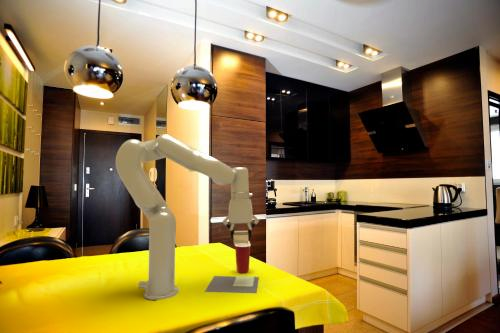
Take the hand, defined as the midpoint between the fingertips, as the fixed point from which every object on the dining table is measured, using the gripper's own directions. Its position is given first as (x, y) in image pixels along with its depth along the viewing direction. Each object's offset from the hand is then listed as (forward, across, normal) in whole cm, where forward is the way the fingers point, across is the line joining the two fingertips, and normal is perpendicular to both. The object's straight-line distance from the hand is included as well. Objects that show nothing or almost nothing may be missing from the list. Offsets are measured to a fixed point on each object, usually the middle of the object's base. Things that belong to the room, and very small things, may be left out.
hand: (241, 238), depth 115 cm
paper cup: (+19, 0, -14) cm, 23 cm away
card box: (+1, 0, 0) cm, 1 cm away
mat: (+18, +4, +2) cm, 19 cm away
